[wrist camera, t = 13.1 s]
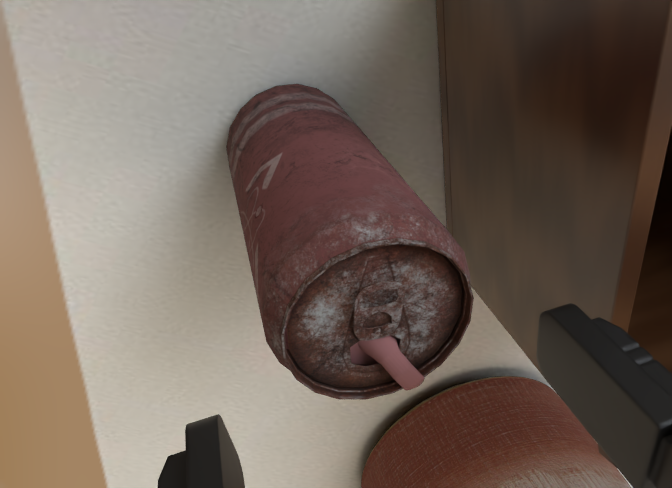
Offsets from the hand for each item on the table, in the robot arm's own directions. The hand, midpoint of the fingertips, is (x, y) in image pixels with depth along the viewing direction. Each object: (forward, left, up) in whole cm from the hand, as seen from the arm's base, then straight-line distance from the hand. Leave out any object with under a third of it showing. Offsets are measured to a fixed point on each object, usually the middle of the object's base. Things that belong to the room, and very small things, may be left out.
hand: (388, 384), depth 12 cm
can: (0, 0, -16) cm, 16 cm away
